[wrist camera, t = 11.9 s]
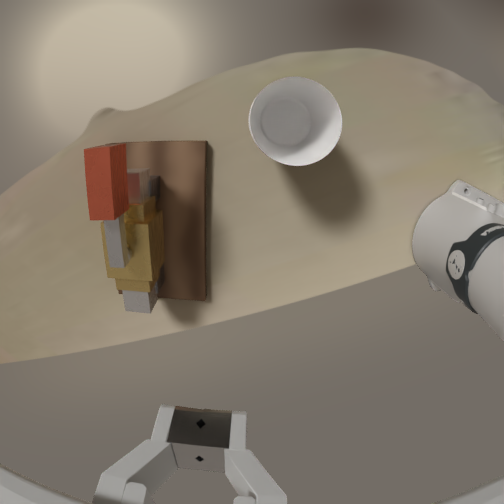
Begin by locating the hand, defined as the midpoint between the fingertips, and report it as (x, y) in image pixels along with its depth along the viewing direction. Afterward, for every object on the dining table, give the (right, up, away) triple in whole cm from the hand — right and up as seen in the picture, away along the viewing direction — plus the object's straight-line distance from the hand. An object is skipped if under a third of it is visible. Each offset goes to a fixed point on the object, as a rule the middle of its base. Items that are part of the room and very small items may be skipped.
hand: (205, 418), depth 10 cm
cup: (+6, +23, +29) cm, 37 cm away
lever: (-13, +11, +22) cm, 28 cm away
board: (-12, +10, +34) cm, 37 cm away
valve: (-13, +9, +33) cm, 36 cm away
